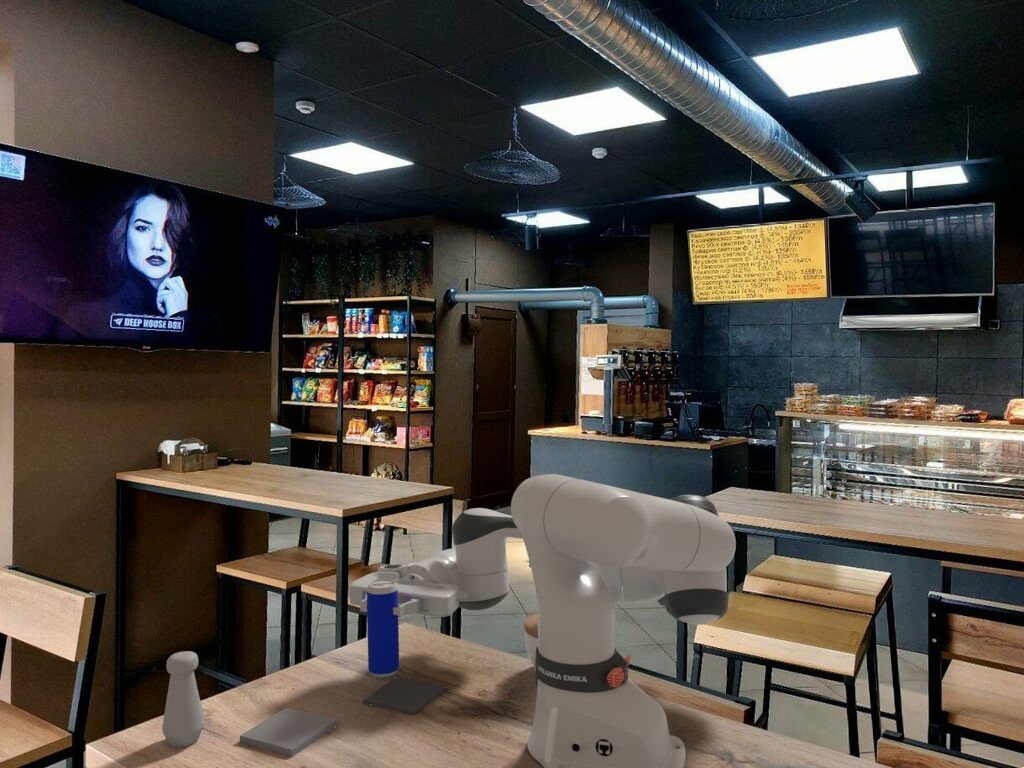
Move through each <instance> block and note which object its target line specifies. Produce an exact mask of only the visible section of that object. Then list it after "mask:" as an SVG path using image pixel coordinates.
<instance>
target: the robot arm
mask: <svg viewBox="0 0 1024 768" xmlns="http://www.w3.org/2000/svg"><path fill="white" fill-rule="evenodd" d="M510 503H511V504H510V512H509V513H508V512H503V511H498V510H493V509H489V508H484V507H476V508H475V507H474V508H469V509H465V510H463V511H461V512H460V513H459V515H458V516H457V517H456V519H455V520H454V522H453V523H452V526H451V533H452V539H453V544H454V547H453V548H447V549H443V550H440V551H437V552H435V553H433V554H431V555H429V556H428V557H426V558H424V559H421V560H418V561H416V562H413V561H412V562H408V563H405V564H387V565H381V566H379V567H378V570H377V571H375V572H371V573H367V574H366V575H364V576H363V575H362V577H360V578H358V579H356V580H354V581H352V582H351V583H350V584H349V589H348V598H349V599H348V600H349V604H351V605H352V606H359V611H360V612H362V613H367V588H368V585H369V583H371V582H373V581H378V580H392V581H394V582H395V583H396V585H397V588H398V604H396V605H394V606H393V611H394V612H393V616H397V617H398V618H403V617H404V616H406V615H413V614H416V615H423V616H429V617H431V616H432V617H437V618H444V617H449V616H450V615H452V614H453V613H454V612H455V611H456V610H457V609H458V608H461V609H464V610H468V611H483V610H486V609H491V608H493V607H495V606H496V605H498V604H499V603H500V602H502V601H503V600H504V599H505V598H506V597H507V595H508V594H509V593H510V584H509V583H510V581H509V579H510V578H509V567H508V560H507V546H506V539H507V538H514V539H520V540H521V539H522V540H523V543H524V546H525V550H526V553H527V558H528V562H529V565H530V569H531V570H530V571H531V573H532V578H533V582H534V589H535V593H536V603H537V613H538V647H537V648H536V653H535V666H534V677H535V685H536V686H537V687H536V699H535V706H534V707H535V709H534V714H533V721H532V725H531V729H530V733H529V736H528V741H527V750H528V752H529V753H530V755H531V756H532V757H533V758H534V759H535V760H536V761H537V762H538V763H540V764H541V765H542V767H543V768H685V765H686V760H687V754H686V753H687V752H686V747H685V744H684V742H683V740H682V738H681V737H680V738H679V737H677V736H675V735H672V734H670V730H669V724H668V723H669V722H668V718H667V715H666V712H665V711H664V709H663V707H662V706H661V704H659V703H658V702H657V701H655V699H654V698H652V697H651V696H650V695H649V694H648V693H646V691H644V690H643V689H641V688H640V687H639V686H638V685H637V684H636V683H635V682H634V681H633V680H632V679H631V678H629V665H630V664H631V661H630V660H631V658H630V657H631V655H630V654H627V655H626V657H625V658H624V656H622V655H621V654H620V653H619V652H618V651H617V649H616V648H615V604H616V603H633V602H643V601H650V600H654V599H657V602H658V604H659V605H660V606H664V607H665V610H666V612H667V613H668V614H669V615H670V616H671V617H673V618H674V619H675V620H677V621H679V622H683V623H686V624H690V625H697V626H701V625H707V624H710V623H713V622H715V621H717V620H720V619H722V618H723V617H724V616H725V615H726V614H727V612H728V609H729V600H730V599H729V597H730V594H729V593H728V592H727V589H728V588H727V586H728V585H727V584H728V581H727V580H728V579H727V577H728V576H727V566H728V565H729V564H730V563H731V562H732V560H733V558H734V556H735V553H736V549H737V548H736V547H737V541H736V535H735V533H734V531H733V529H732V527H731V525H730V524H729V523H728V522H727V521H726V520H725V519H724V518H722V517H720V516H719V513H718V511H717V508H716V506H715V504H714V503H713V502H712V501H711V500H710V499H708V498H706V497H705V496H702V495H696V494H695V495H694V494H683V495H678V496H675V497H671V498H665V497H660V496H656V495H655V496H654V495H650V494H646V493H642V492H638V491H633V490H629V489H625V488H621V487H616V486H613V485H608V484H603V483H599V482H594V481H590V480H586V479H582V478H581V479H580V478H576V477H571V476H566V475H562V474H556V473H550V474H547V473H546V474H540V475H535V476H531V477H529V478H527V479H525V480H523V481H522V482H521V483H520V484H519V485H518V486H517V488H516V490H515V491H514V493H513V495H512V498H511V501H510Z"/></svg>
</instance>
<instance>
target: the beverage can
mask: <svg viewBox="0 0 1024 768" xmlns="http://www.w3.org/2000/svg"><path fill="white" fill-rule="evenodd" d="M396 604H398V588H397V585H396V583H395V582H394V581H392V580H378V581H373V582H371V583H369V585H368V588H367V612H366V615H367V616H366V619H367V620H366V621H367V660H368V661H367V663H368V664H367V667H368V672H369V673H370V674H371V675H372V676H373V677H378V678H385V677H391V676H393V675H395V674H396V673H397V671H398V670H399V668H400V639H399V638H400V637H399V634H400V633H399V617H397V616H393V612H394V611H393V606H394V605H396Z"/></svg>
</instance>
